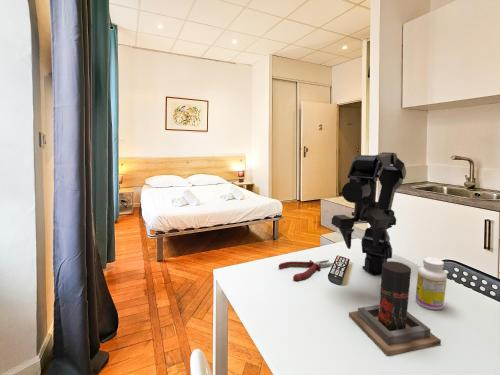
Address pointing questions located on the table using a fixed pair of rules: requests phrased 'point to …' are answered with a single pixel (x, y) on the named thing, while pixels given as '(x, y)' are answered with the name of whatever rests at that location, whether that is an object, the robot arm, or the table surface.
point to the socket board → (394, 332)
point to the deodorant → (394, 295)
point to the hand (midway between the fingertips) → (362, 247)
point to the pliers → (310, 265)
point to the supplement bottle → (431, 284)
